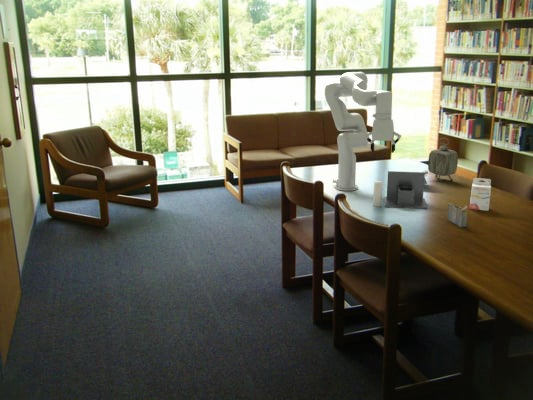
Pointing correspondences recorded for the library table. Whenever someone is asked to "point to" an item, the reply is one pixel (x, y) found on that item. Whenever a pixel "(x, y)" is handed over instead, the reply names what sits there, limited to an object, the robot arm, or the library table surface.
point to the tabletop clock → (443, 161)
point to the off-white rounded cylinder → (377, 193)
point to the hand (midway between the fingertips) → (382, 151)
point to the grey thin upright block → (457, 215)
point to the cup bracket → (405, 190)
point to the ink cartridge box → (480, 194)
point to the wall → (425, 176)
